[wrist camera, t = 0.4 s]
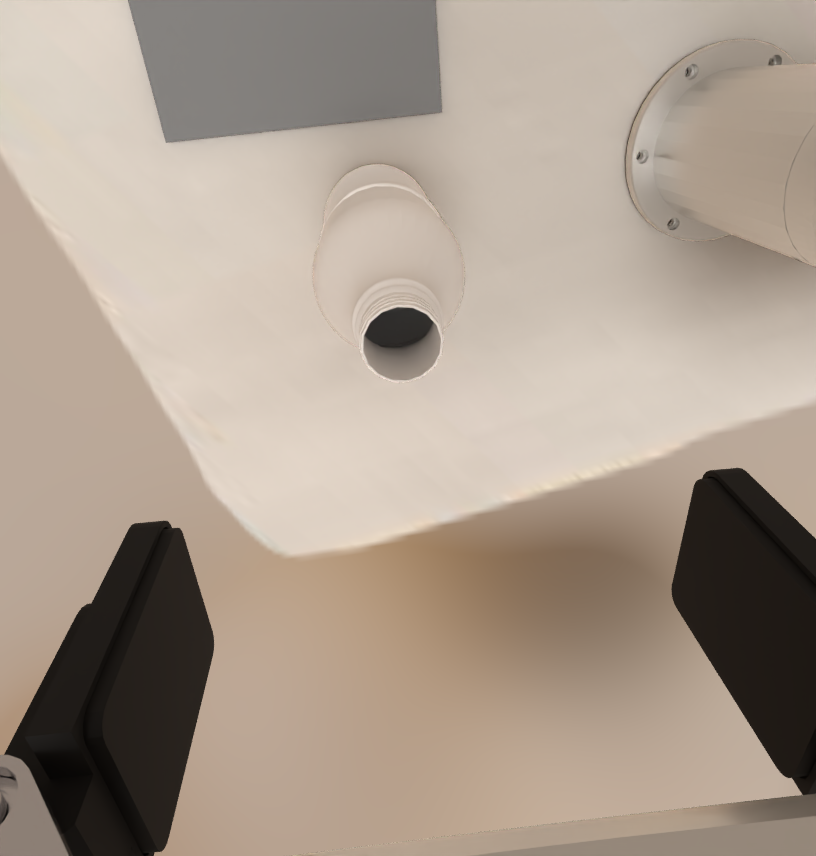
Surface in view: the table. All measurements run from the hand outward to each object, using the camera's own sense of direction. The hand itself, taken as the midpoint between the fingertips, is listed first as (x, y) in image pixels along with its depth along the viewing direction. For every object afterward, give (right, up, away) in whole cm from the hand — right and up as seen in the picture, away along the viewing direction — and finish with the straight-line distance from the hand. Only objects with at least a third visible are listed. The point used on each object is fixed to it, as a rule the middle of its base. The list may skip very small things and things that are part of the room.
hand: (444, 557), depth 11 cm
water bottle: (-3, +18, +32) cm, 37 cm away
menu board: (-8, +27, +26) cm, 38 cm away
